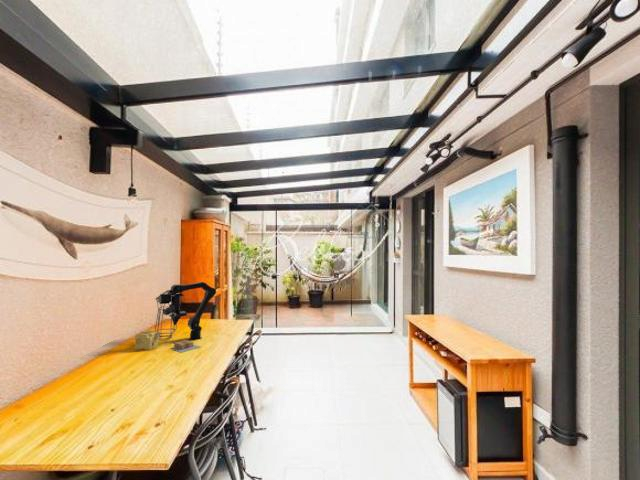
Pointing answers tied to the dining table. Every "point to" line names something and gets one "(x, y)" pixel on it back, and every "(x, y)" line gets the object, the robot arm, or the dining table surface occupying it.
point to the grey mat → (186, 349)
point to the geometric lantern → (162, 318)
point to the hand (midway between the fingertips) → (174, 325)
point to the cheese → (146, 340)
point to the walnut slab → (183, 344)
